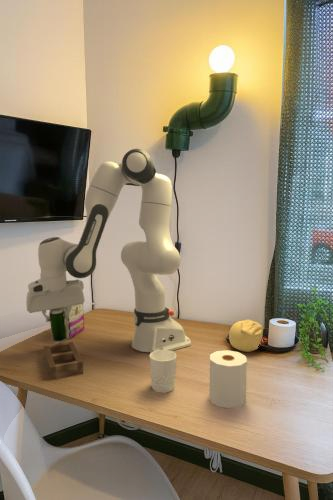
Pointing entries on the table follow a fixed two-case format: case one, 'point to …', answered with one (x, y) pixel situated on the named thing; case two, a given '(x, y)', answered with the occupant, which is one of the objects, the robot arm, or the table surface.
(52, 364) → the shelf
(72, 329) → the candy bar box
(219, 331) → the table surface
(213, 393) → the toilet paper
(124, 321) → the table surface
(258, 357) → the table surface
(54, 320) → the beer can
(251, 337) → the sculpture
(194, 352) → the table surface
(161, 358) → the white cup
